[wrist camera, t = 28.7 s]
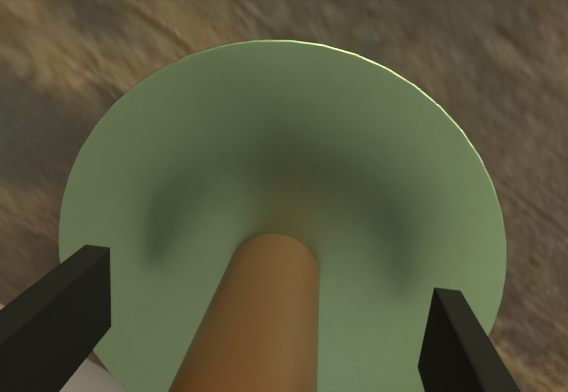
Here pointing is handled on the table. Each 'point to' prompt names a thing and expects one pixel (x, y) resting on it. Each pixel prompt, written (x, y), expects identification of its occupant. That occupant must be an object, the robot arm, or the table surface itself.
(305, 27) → the table surface
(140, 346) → the canister lid
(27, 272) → the table surface
